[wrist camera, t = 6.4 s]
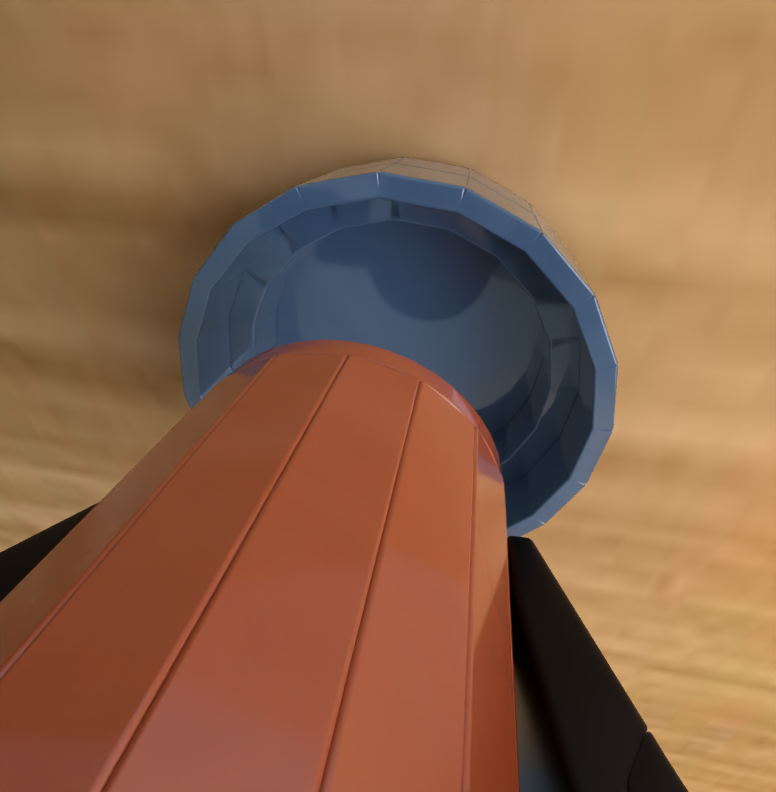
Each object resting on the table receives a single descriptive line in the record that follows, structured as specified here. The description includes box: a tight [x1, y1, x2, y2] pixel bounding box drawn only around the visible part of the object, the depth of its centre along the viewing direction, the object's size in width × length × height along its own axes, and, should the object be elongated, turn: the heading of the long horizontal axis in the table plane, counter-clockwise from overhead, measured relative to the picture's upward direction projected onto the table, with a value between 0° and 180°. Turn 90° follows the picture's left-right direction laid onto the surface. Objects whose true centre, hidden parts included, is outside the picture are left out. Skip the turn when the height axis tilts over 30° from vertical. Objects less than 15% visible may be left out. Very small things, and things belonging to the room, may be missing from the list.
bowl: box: [178, 157, 618, 538], centre depth 17 cm, size 13×13×5 cm
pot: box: [0, 339, 520, 792], centre depth 7 cm, size 7×7×7 cm
